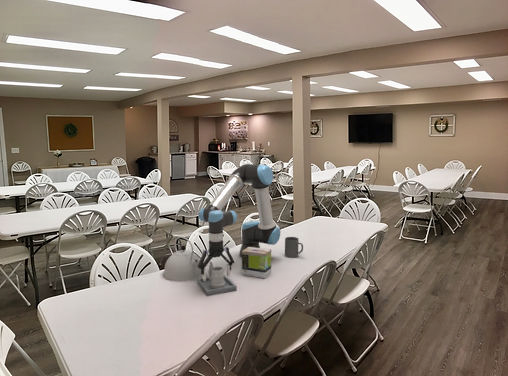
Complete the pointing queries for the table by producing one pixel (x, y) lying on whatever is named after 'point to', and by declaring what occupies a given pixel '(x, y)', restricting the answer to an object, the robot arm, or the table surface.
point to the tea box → (256, 262)
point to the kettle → (182, 265)
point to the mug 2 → (292, 247)
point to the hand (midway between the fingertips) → (216, 278)
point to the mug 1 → (216, 276)
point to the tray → (227, 287)
